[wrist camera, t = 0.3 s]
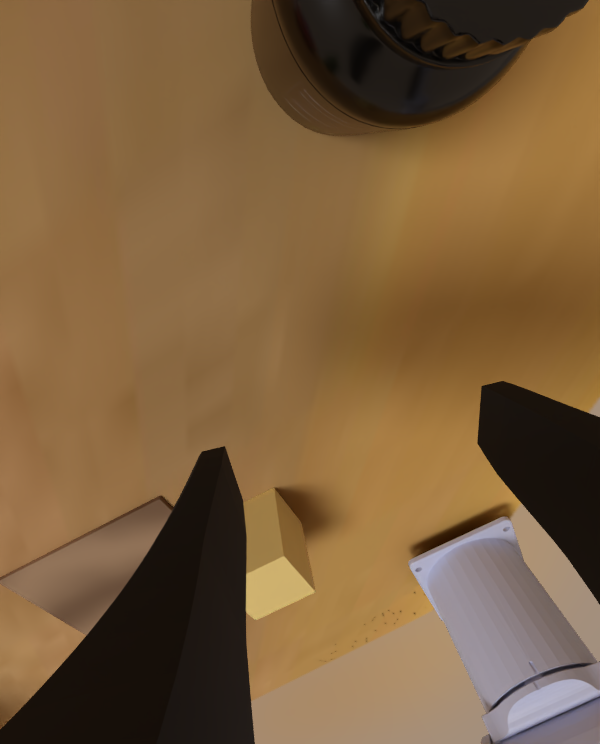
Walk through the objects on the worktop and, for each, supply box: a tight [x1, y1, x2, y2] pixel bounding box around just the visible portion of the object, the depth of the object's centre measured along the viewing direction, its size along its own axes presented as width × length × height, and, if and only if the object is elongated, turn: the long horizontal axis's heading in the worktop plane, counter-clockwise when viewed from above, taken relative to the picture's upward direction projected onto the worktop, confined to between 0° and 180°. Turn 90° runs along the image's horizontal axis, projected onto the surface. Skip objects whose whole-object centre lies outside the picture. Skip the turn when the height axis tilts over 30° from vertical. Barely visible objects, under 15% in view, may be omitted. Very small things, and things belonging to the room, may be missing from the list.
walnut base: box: [0, 496, 173, 635], centre depth 28 cm, size 12×12×1 cm
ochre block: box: [243, 488, 316, 620], centre depth 25 cm, size 4×4×6 cm
